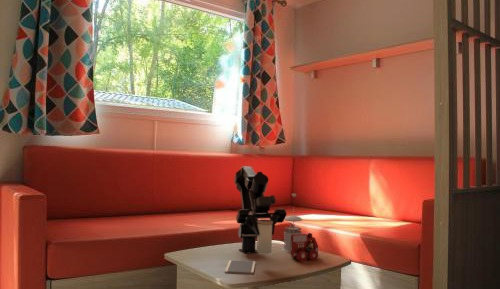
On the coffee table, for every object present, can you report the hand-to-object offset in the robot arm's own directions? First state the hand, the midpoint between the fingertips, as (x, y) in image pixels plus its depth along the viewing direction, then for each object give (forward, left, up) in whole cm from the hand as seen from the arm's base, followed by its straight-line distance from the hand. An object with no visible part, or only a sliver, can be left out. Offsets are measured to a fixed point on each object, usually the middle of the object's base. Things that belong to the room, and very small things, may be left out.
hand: (265, 234), depth 159 cm
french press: (-21, +25, -13) cm, 35 cm away
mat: (-4, -8, -12) cm, 15 cm away
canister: (-1, 0, -7) cm, 7 cm away
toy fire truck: (-7, +22, -13) cm, 26 cm away
